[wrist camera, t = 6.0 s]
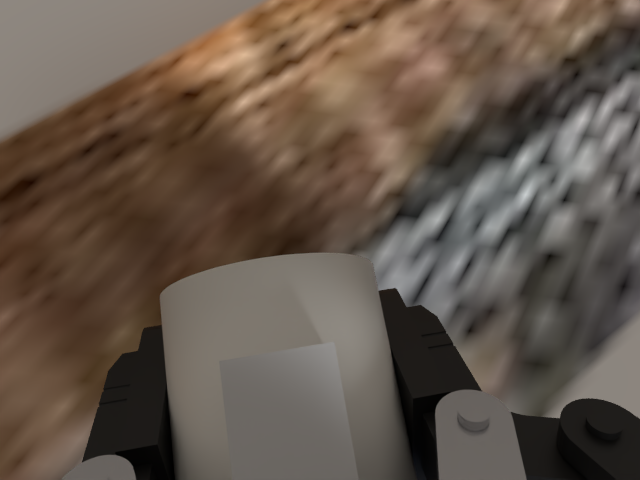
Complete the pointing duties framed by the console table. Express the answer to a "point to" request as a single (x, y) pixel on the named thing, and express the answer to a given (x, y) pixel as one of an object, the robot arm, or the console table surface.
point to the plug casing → (283, 373)
